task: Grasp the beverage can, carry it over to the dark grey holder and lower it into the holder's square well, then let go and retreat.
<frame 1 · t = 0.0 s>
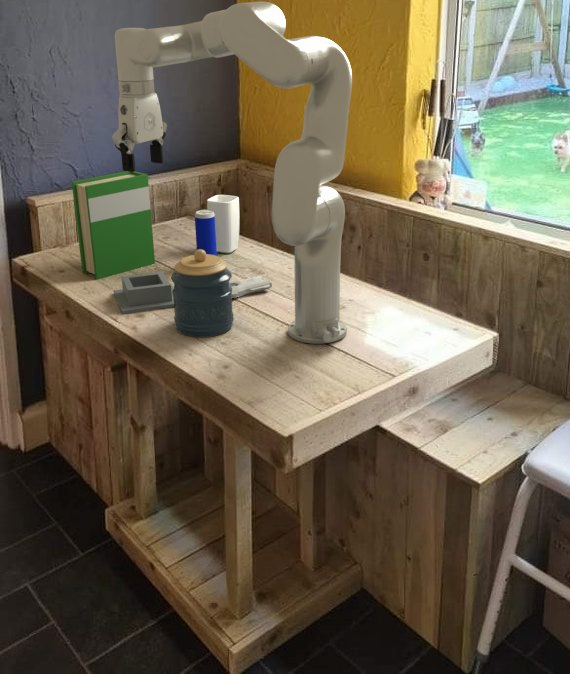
hand: (143, 166, 188), 31 cm above the table, tool pointing down, fingers open, 9 cm apart
cup: (225, 251, 232), on the table
holder: (147, 299, 198), on the table
hardback book: (119, 268, 220), on the table
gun: (231, 294, 202), on the table
canister: (204, 327, 183), on the table
beverage can: (207, 268, 219), on the table
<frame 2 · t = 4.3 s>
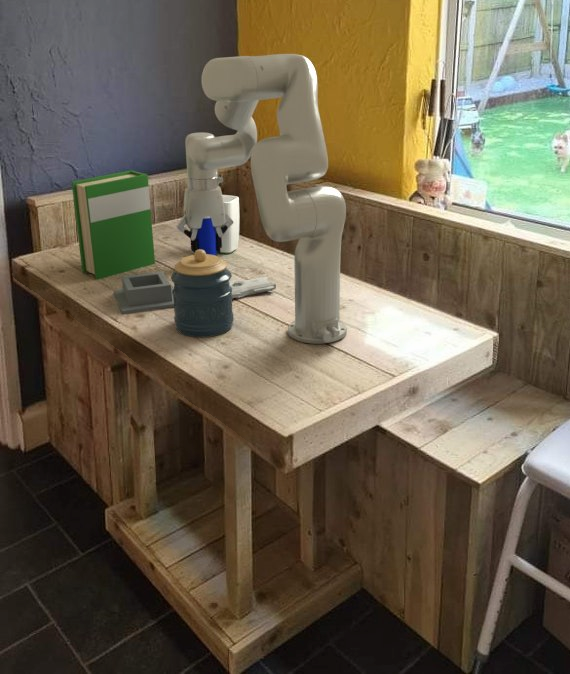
hand: (206, 251, 217), 4 cm above the table, tool pointing down, fingers closed on beverage can, 5 cm apart
beverage can: (207, 268, 219), on the table, touching gripper
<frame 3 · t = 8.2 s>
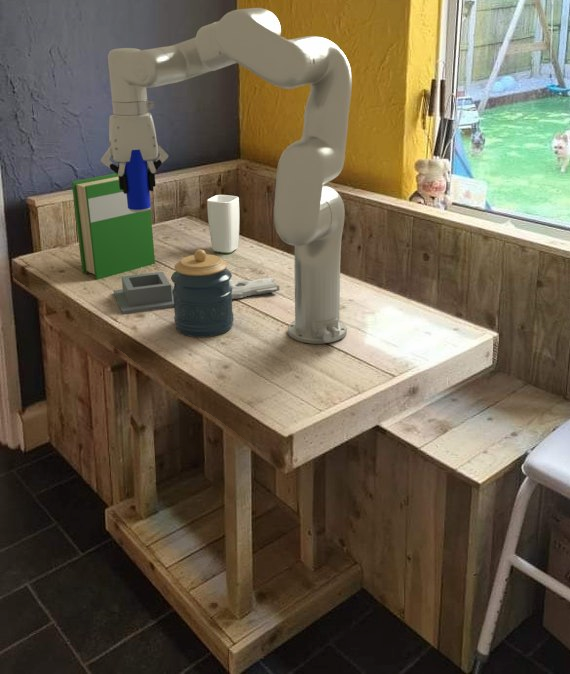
hand: (137, 190, 187), 26 cm above the table, tool pointing down, fingers closed on beverage can, 5 cm apart
beverage can: (139, 210, 189), point 22 cm above the table, touching gripper
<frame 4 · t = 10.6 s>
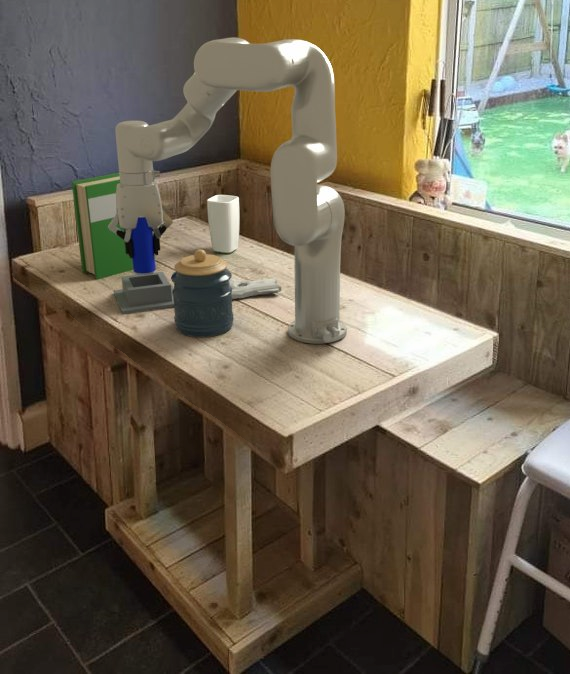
hand: (143, 254, 194), 11 cm above the table, tool pointing down, fingers closed on beverage can, 5 cm apart
beverage can: (144, 273, 196), point 7 cm above the table, touching gripper
when the fingers open (7 cm above the table, at t = 12.4 s): beverage can drops 2 cm, resting on holder.
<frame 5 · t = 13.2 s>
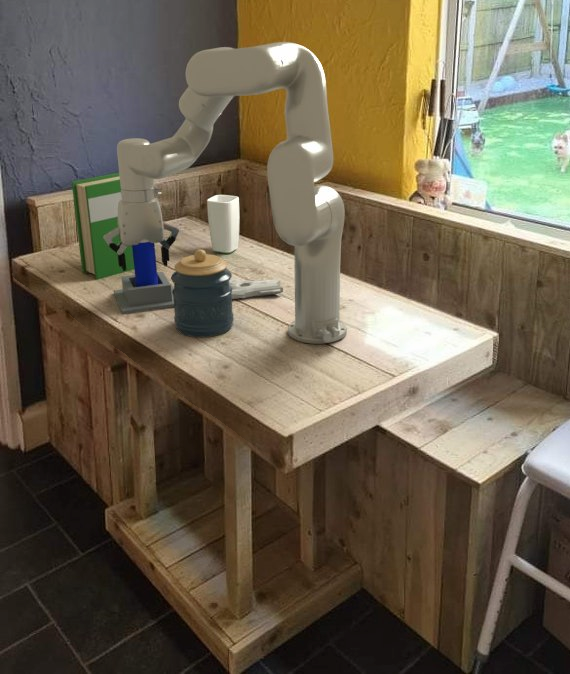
hand: (144, 266, 195), 8 cm above the table, tool pointing down, fingers open, 9 cm apart
beverage can: (148, 297, 198), point 1 cm above the table, touching holder
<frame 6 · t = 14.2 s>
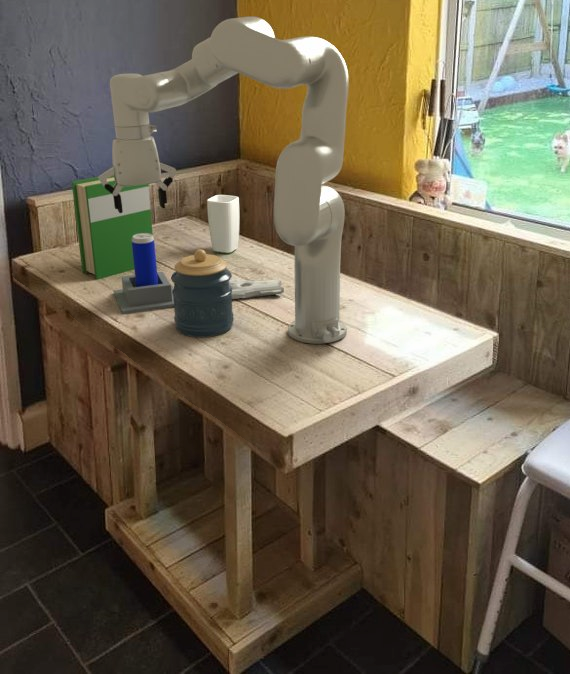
hand: (141, 209, 189), 22 cm above the table, tool pointing down, fingers open, 9 cm apart
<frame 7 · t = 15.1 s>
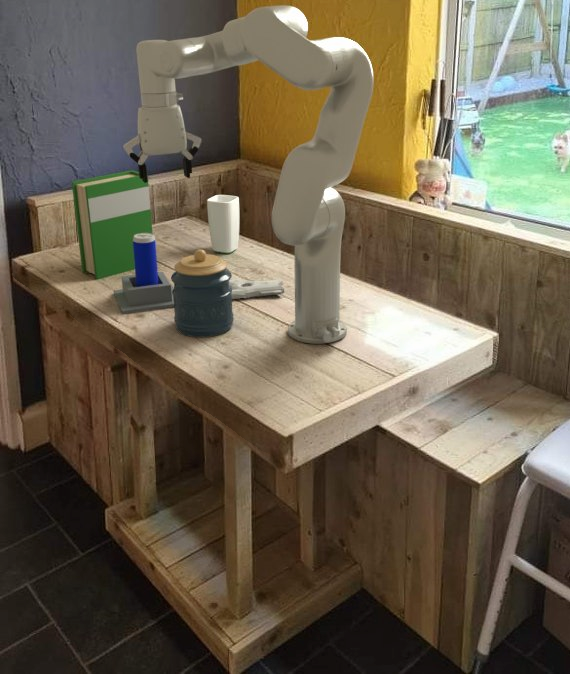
hand: (166, 179, 187), 29 cm above the table, tool pointing down, fingers open, 9 cm apart
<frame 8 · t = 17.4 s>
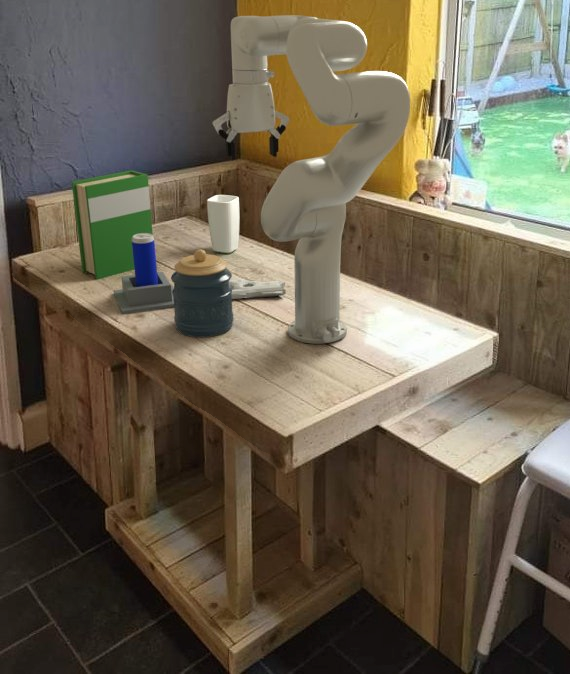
hand: (252, 157, 185), 33 cm above the table, tool pointing down, fingers open, 9 cm apart
at the end: beverage can 0.2 cm off-centre on the holder, point 0.6 cm above the holder's base; beverage can tilted 0°; the gripper is holding nothing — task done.
